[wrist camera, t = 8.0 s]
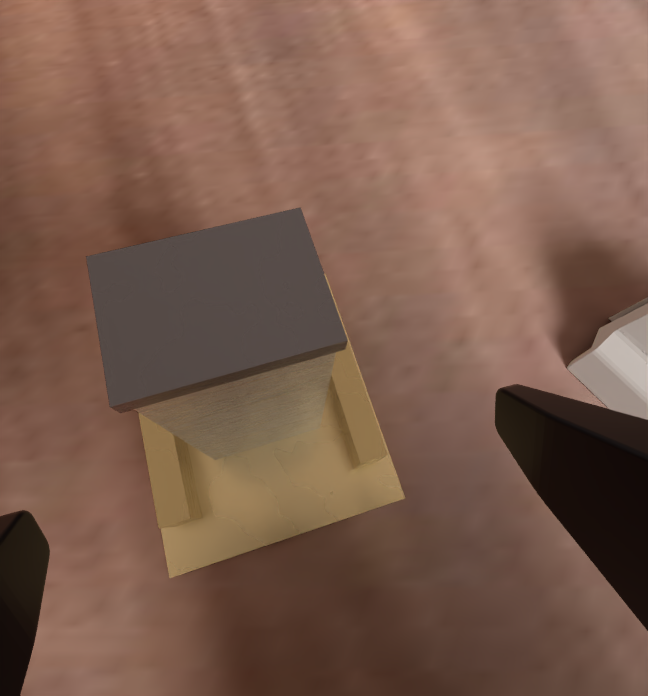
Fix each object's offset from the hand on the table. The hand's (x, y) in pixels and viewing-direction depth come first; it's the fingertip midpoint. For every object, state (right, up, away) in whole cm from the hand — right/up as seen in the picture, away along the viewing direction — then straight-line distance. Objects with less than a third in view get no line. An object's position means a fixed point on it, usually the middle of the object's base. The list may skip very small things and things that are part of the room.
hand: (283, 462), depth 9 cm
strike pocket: (-2, -1, +13) cm, 13 cm away
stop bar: (-2, -1, +13) cm, 13 cm away
